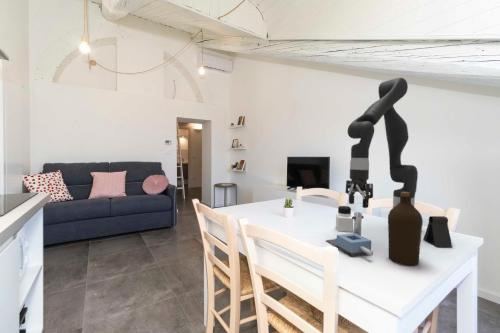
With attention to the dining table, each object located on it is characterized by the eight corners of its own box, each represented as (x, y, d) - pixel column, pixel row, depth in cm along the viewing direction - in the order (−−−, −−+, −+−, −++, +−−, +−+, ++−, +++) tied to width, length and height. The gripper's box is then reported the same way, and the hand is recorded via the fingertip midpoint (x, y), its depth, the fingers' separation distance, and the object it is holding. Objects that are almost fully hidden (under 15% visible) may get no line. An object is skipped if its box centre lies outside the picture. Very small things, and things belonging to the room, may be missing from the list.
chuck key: (359, 240, 110) (360, 211, 109) (364, 242, 107) (365, 213, 107) (350, 241, 109) (350, 212, 108) (354, 244, 106) (355, 214, 105)
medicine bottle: (352, 232, 122) (353, 208, 121) (337, 231, 123) (338, 207, 123) (350, 227, 129) (350, 205, 128) (335, 227, 130) (336, 204, 130)
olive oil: (392, 265, 86) (394, 194, 84) (382, 253, 96) (384, 189, 95) (426, 268, 84) (429, 195, 82) (413, 255, 94) (415, 190, 93)
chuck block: (354, 246, 104) (355, 233, 103) (381, 259, 90) (381, 245, 90) (336, 248, 101) (336, 235, 101) (360, 262, 88) (360, 247, 87)
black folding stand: (423, 240, 111) (424, 213, 110) (436, 240, 111) (438, 214, 110) (437, 247, 102) (438, 219, 101) (452, 248, 102) (453, 219, 101)
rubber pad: (339, 239, 111) (339, 238, 111) (350, 245, 104) (350, 244, 104) (326, 241, 109) (326, 240, 109) (336, 247, 102) (336, 245, 102)
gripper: (379, 169, 100) (377, 208, 101) (355, 167, 114) (354, 202, 115) (363, 169, 98) (362, 209, 99) (341, 167, 112) (340, 202, 113)
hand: (358, 205), depth 107 cm, fingers open, 8 cm apart
